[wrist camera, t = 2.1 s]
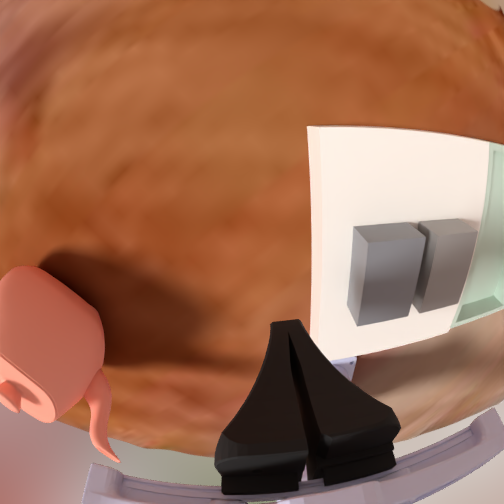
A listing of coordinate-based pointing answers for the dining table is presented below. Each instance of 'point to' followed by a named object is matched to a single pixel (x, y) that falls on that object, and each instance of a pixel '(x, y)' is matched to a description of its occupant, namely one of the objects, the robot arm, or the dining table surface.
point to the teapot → (51, 351)
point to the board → (382, 218)
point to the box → (487, 249)
